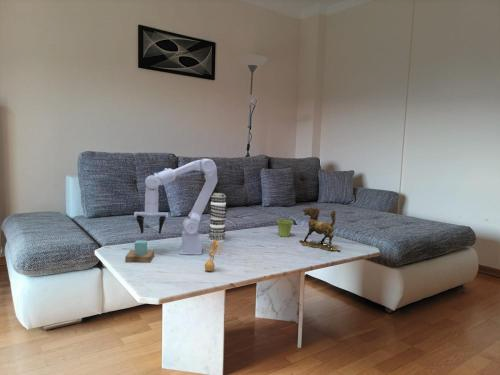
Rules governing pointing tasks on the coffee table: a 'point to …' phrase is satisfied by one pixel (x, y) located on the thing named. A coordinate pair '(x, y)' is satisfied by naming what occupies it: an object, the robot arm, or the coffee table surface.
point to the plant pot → (284, 227)
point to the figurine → (320, 230)
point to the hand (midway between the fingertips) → (151, 233)
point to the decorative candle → (217, 217)
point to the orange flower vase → (209, 264)
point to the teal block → (140, 247)
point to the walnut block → (139, 257)
